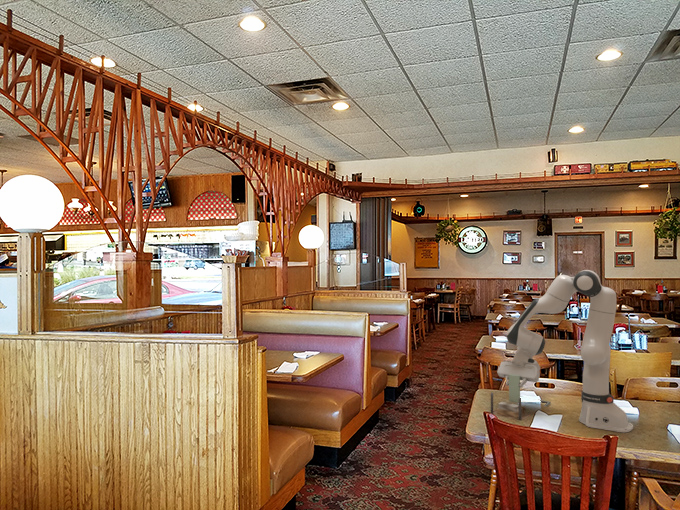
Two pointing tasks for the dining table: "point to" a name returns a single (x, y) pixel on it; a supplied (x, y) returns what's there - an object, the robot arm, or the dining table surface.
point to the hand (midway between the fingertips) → (513, 385)
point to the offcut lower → (508, 413)
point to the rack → (521, 416)
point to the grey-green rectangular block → (514, 388)
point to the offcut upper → (508, 407)
